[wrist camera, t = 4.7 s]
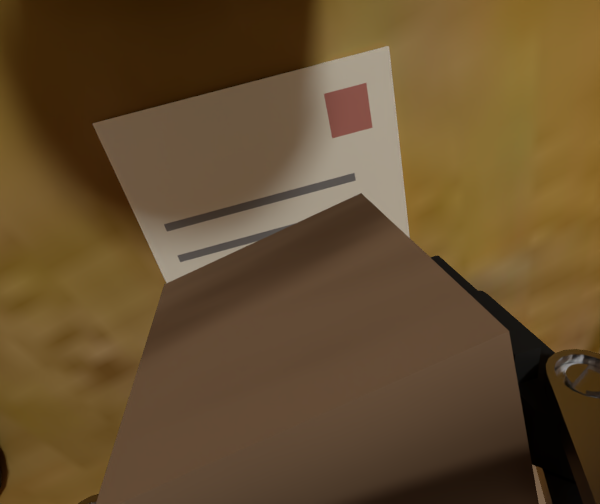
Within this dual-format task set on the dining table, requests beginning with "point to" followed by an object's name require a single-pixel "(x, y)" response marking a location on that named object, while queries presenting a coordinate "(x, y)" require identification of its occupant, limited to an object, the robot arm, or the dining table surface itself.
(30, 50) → the dining table surface
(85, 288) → the dining table surface
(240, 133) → the letter
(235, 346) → the walnut block
